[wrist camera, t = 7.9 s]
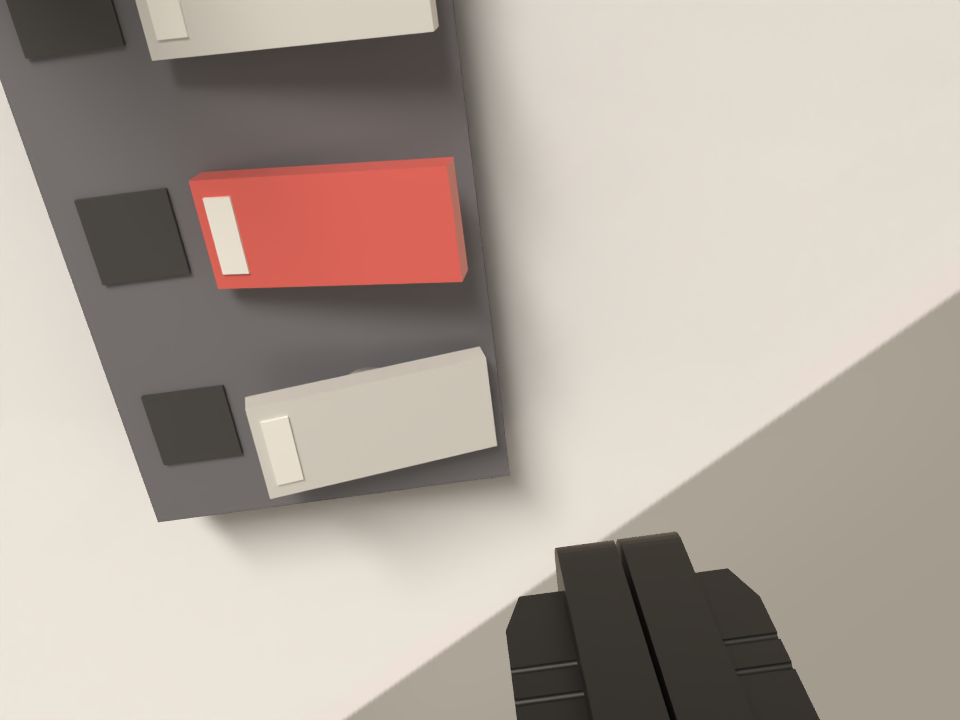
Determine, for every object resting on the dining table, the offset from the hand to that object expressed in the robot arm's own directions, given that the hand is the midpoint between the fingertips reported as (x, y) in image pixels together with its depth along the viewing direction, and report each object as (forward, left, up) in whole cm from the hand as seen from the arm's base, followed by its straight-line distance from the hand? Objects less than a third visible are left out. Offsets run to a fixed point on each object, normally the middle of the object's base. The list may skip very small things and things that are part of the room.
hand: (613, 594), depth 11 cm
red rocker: (+5, +2, -22) cm, 23 cm away
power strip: (+8, +2, -27) cm, 28 cm away
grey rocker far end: (+5, +10, -22) cm, 25 cm away
